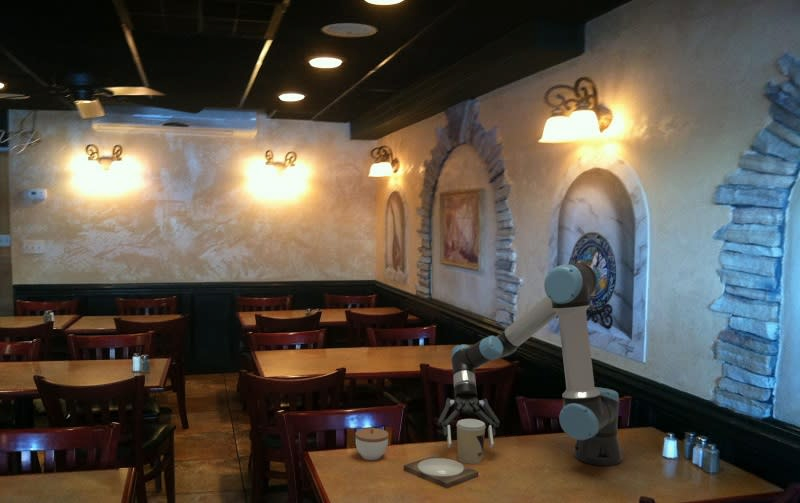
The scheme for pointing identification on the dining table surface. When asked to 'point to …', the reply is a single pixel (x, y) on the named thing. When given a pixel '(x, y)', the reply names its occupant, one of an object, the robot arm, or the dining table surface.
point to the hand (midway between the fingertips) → (470, 445)
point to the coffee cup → (470, 440)
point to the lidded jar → (371, 443)
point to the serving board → (441, 471)
